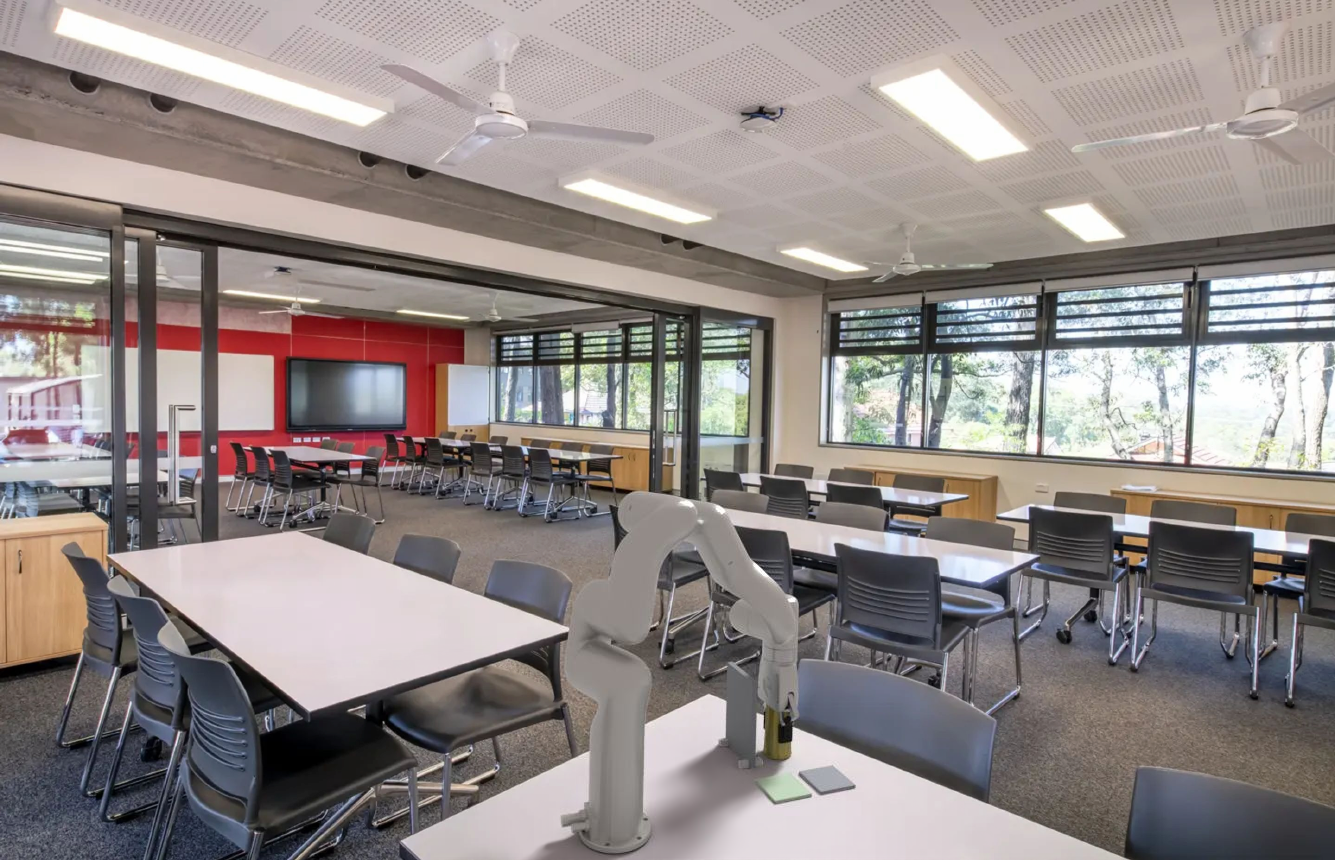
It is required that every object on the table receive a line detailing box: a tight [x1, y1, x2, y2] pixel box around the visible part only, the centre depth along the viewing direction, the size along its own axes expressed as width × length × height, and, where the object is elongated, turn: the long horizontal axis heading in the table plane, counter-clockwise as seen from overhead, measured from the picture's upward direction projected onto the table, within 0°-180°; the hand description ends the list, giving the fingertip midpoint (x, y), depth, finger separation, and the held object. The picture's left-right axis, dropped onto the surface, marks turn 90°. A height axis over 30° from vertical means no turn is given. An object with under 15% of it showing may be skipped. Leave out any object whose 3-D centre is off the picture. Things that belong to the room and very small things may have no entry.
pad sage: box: [754, 772, 813, 804], centre depth 135 cm, size 8×8×1 cm
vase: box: [762, 704, 793, 761], centre depth 149 cm, size 6×6×14 cm
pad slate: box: [798, 764, 857, 795], centre depth 139 cm, size 8×8×1 cm
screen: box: [717, 661, 764, 770], centre depth 148 cm, size 5×12×18 cm, turn 20°
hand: (777, 734), depth 150 cm, fingers closed on vase, 5 cm apart
